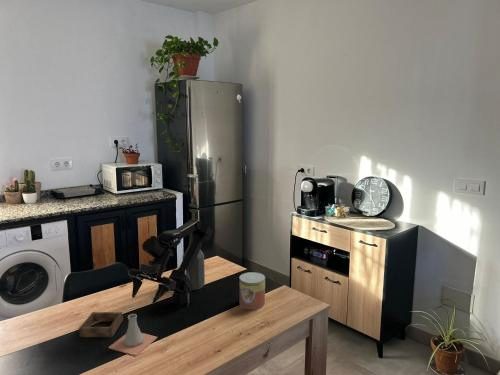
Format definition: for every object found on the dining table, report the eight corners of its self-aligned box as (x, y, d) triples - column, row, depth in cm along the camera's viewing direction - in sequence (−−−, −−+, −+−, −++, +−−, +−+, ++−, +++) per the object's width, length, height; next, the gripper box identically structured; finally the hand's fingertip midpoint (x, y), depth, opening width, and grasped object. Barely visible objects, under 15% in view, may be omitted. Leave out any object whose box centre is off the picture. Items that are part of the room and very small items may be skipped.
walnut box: (122, 320, 152) (122, 312, 152) (112, 337, 140) (111, 328, 140) (93, 320, 152) (92, 312, 152) (79, 336, 140) (79, 328, 140)
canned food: (235, 306, 164) (235, 280, 162) (245, 295, 174) (245, 270, 172) (259, 311, 160) (259, 284, 158) (268, 299, 170) (268, 274, 168)
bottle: (202, 290, 178) (201, 229, 173) (182, 290, 179) (179, 229, 174) (205, 281, 189) (204, 223, 184) (186, 281, 189) (184, 223, 184)
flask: (142, 334, 142) (140, 309, 140) (146, 344, 135) (144, 318, 133) (121, 339, 138) (120, 313, 137) (124, 349, 132) (123, 323, 130)
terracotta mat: (131, 331, 144) (131, 330, 144) (157, 337, 140) (157, 336, 140) (108, 348, 133) (108, 347, 133) (136, 356, 129) (136, 355, 129)
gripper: (130, 249, 146) (111, 288, 139) (171, 259, 140) (154, 300, 133) (143, 259, 156) (126, 296, 148) (182, 269, 149) (167, 308, 142)
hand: (143, 300), depth 143 cm, fingers open, 9 cm apart
